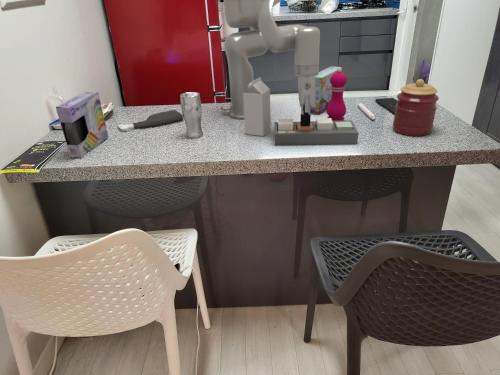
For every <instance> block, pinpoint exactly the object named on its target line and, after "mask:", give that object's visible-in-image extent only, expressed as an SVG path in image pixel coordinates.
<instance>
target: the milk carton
mask: <svg viewBox="0 0 500 375" xmlns="http://www.w3.org/2000/svg"><path fill="white" fill-rule="evenodd" d="M247 86H248V89H247V90H246V91H245V92H244V93H243V99H244V118H245V119H244V133H245V134H244V135H251V136H260V137H264V136H265V135H267V134H268V133H269V132H270V131H272V128H271V127H272V126H271V124H272V123H271V121H272V120H271V88H269V87H268V86H267V85H266V84H265V83H264V82H263V81H262V78H261V76H260V77H257V78H256V79H254V81H252V82H251V83H250V84H248V85H247Z"/></svg>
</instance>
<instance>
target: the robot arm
mask: <svg viewBox="0 0 500 375" xmlns="http://www.w3.org/2000/svg"><path fill="white" fill-rule="evenodd" d="M281 2H282V0H223V8H224V14H225V15H224V17H225V22H226V24H227V26H228V27H229V28H231V29H242V28H249V30H244V31H238V32H233V33H231V34H229V35H227V37H226V38H225V39H224V42H223V43H224V45H223V46H224V50H225V51H224V52H225V56H226V60H227V65H228V75H229V76H228V77H229V78H228V79H229V90H230V103H228V104H220V111H221V110H223V111H224V112H225V111H228V112H227V114H228V117H230V118H232V119H238V120H245V118H244V99H243V93H244V92H245V91H246V90H247V89H248V86H247V85H248V84H250V83H251V82H252V81H254V80H255V79H254V69H253V68H254V67H253V66H252V64H251V63H250V61H249V60H248V59H249V58H253V57H259V56H263V55H265V54H266V53H267V51H268V50H269V51H270V52H272V53H275V54H278V53H280V54H281V53H284V52H285V53H286V52H291V51H294V76H296V77H297V78H298V79H297V86H298V88H297V90H298V91H297V92H298V102H299V103H298V104H299V106H300V119H299V120H300V121H299V122H300V124H301V126H310V121H311V115H312V114H311V113H310V105H311V106H312V107H313V108H314V107H315V94H316V80H315V76H317V75H318V74H319V72H320V70H319V69H320V45H321V44H320V42H321V31H320V29H319V28H318V27H317V26H305V25H303V24H288V25H280V26H278V25H277V23H276V21H275V19H274V15H273V7H274V6H276V5H278V4H279V3H281Z"/></svg>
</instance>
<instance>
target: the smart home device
mask: <svg viewBox="0 0 500 375" xmlns="http://www.w3.org/2000/svg"><path fill="white" fill-rule="evenodd" d="M374 102H375V103H377V105H379V106H380V107H381V108H383V109H385V110H386V111H387V112H389V113H390V114H391V113H392V114H391V115H393V116H395V110H396V104H397V103H398V99H396V98H394V97H385V98H376V99H375V101H374Z"/></svg>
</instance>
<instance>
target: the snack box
mask: <svg viewBox="0 0 500 375" xmlns="http://www.w3.org/2000/svg"><path fill="white" fill-rule="evenodd" d="M338 68H341V69H342V70H343V67H341V66H330V67H327V68H325V69H323V70H320V71H319V74H318V75H317V76H315V80H316V94H315V107H314V108H313V107H312V106H311V105H310V114H311V115H312V114H313V115H316V116H317V115H318V116H319V115H321V114H323V113H324V112H326V111H327V107H328V104H329V103H330V101H331V98H332V91H331V86H332V84H331V83H330V77H331V75H332V74H334V73H336V72H337V69H338ZM341 72H342V73H343V71H341Z"/></svg>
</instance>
